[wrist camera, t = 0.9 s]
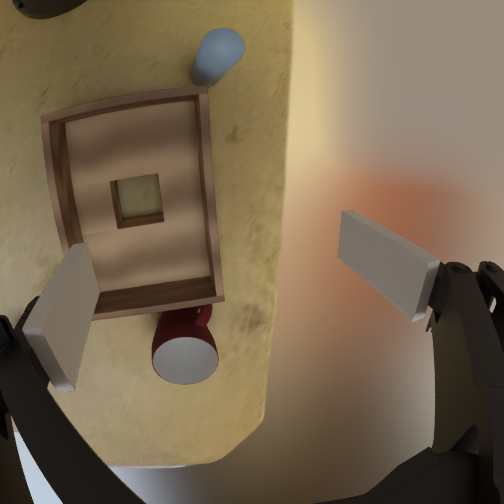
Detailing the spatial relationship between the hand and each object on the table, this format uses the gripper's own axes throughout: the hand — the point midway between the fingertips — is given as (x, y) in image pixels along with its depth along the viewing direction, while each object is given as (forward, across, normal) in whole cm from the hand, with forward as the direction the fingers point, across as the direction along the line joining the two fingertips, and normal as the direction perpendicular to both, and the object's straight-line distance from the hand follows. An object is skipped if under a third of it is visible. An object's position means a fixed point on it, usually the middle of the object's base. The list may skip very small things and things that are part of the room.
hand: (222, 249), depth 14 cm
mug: (+23, -3, -19) cm, 30 cm away
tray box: (+23, -6, -2) cm, 24 cm away
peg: (+23, +3, +12) cm, 27 cm away
